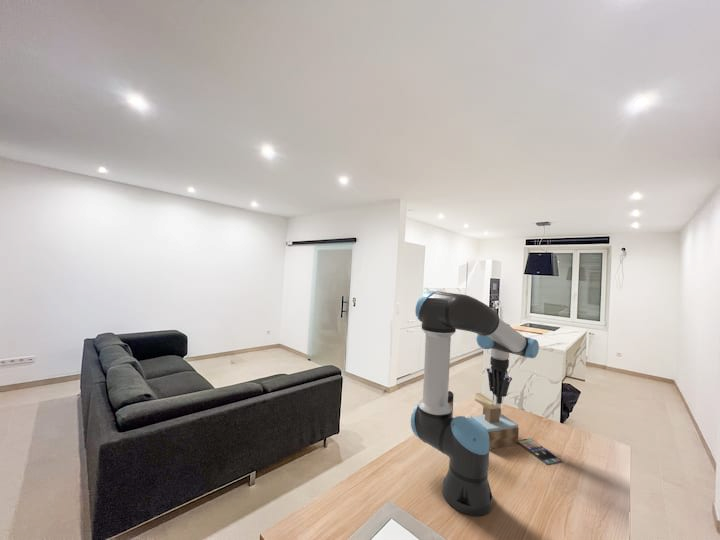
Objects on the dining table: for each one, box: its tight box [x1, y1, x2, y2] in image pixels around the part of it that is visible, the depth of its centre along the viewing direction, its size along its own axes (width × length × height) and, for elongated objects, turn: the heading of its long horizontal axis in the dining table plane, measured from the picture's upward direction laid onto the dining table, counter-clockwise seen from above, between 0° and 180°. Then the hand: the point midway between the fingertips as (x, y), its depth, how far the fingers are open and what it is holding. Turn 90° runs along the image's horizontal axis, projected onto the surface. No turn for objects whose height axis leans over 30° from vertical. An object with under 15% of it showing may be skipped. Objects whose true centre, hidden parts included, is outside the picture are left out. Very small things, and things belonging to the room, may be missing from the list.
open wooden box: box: [482, 405, 520, 450], centre depth 132 cm, size 17×15×10 cm
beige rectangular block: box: [474, 392, 494, 406], centre depth 143 cm, size 3×11×3 cm, turn 17°
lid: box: [470, 405, 519, 432], centre depth 130 cm, size 16×11×8 cm
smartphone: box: [517, 437, 564, 466], centre depth 122 cm, size 8×15×1 cm, turn 17°
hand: (496, 409), depth 135 cm, fingers closed
